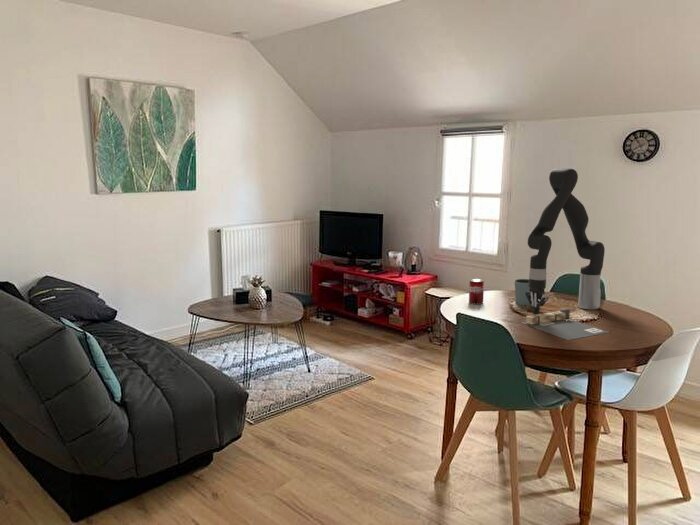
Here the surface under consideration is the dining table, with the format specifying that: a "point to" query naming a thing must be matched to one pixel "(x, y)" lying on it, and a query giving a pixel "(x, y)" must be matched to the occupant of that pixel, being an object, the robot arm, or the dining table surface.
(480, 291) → the soda can
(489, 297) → the dining table surface
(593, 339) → the dining table surface
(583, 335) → the label mat
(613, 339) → the dining table surface
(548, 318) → the swing arm
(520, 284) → the teal cup
